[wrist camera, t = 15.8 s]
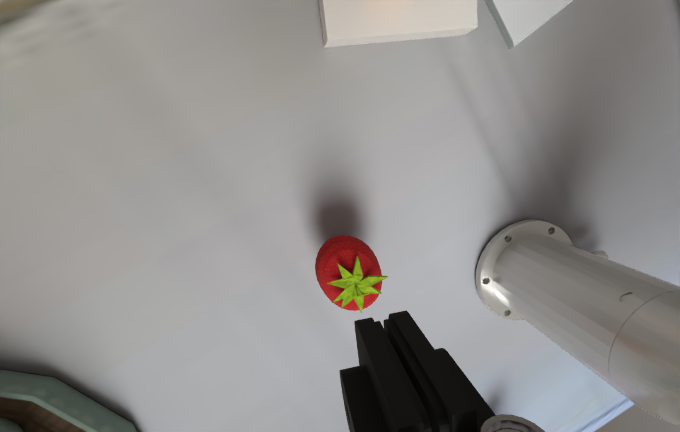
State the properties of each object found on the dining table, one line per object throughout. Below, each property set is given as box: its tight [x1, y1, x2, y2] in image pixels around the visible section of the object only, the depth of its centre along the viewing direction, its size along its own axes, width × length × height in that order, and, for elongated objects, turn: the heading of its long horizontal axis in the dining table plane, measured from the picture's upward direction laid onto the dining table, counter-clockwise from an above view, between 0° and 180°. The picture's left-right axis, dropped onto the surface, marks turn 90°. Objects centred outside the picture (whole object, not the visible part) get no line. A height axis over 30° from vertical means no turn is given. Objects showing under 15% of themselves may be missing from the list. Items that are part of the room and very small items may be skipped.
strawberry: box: [315, 235, 387, 313], centre depth 31 cm, size 6×8×10 cm
